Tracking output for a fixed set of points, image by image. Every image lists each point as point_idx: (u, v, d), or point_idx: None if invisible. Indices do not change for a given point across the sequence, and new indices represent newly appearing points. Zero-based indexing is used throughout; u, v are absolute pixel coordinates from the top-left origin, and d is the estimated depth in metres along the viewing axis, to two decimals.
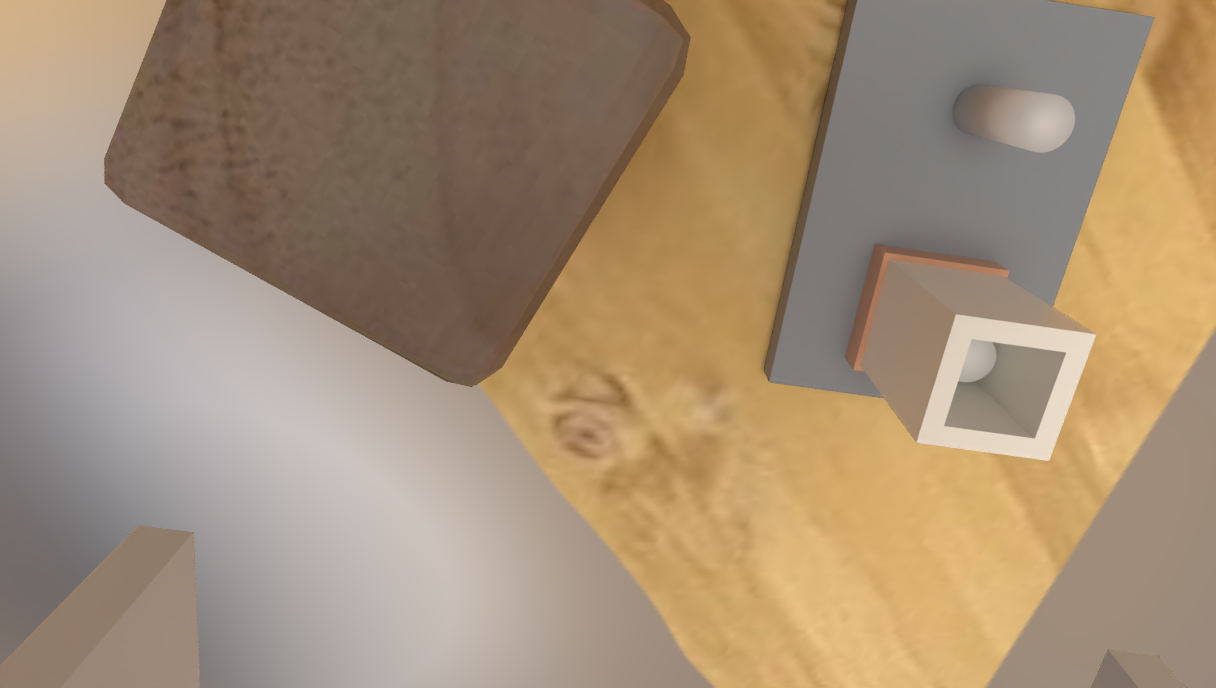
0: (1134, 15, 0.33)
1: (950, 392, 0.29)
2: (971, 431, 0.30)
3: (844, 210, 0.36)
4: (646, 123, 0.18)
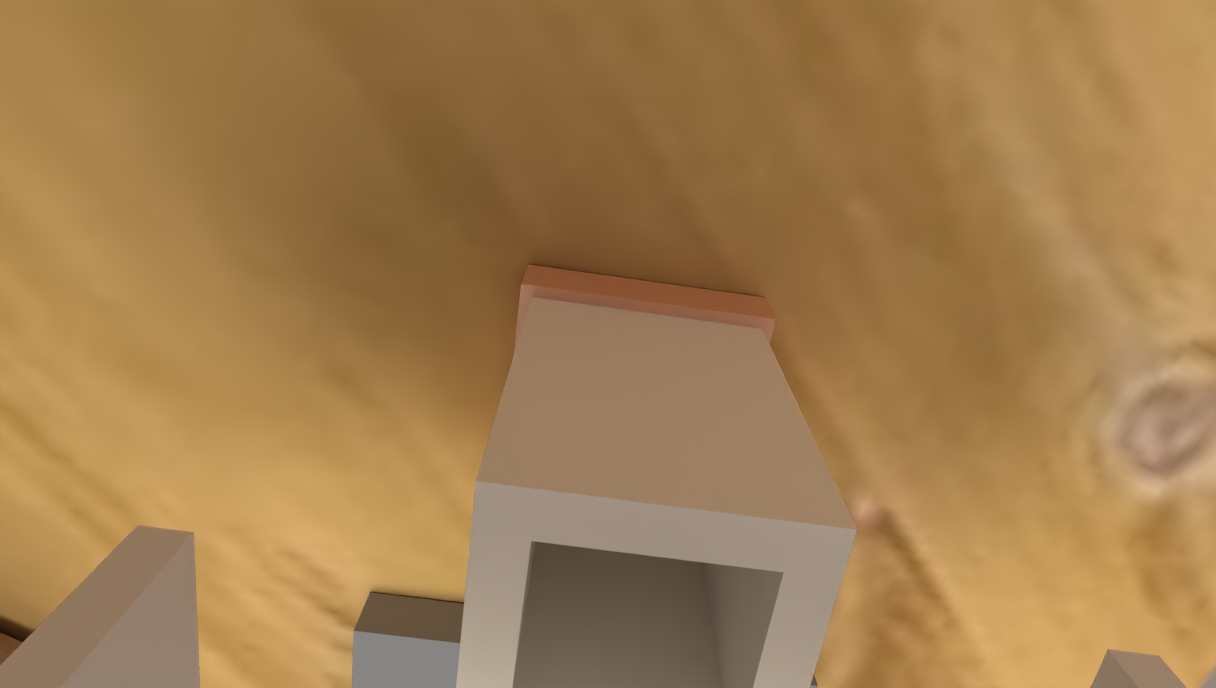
0: None
1: None
2: None
3: None
4: None
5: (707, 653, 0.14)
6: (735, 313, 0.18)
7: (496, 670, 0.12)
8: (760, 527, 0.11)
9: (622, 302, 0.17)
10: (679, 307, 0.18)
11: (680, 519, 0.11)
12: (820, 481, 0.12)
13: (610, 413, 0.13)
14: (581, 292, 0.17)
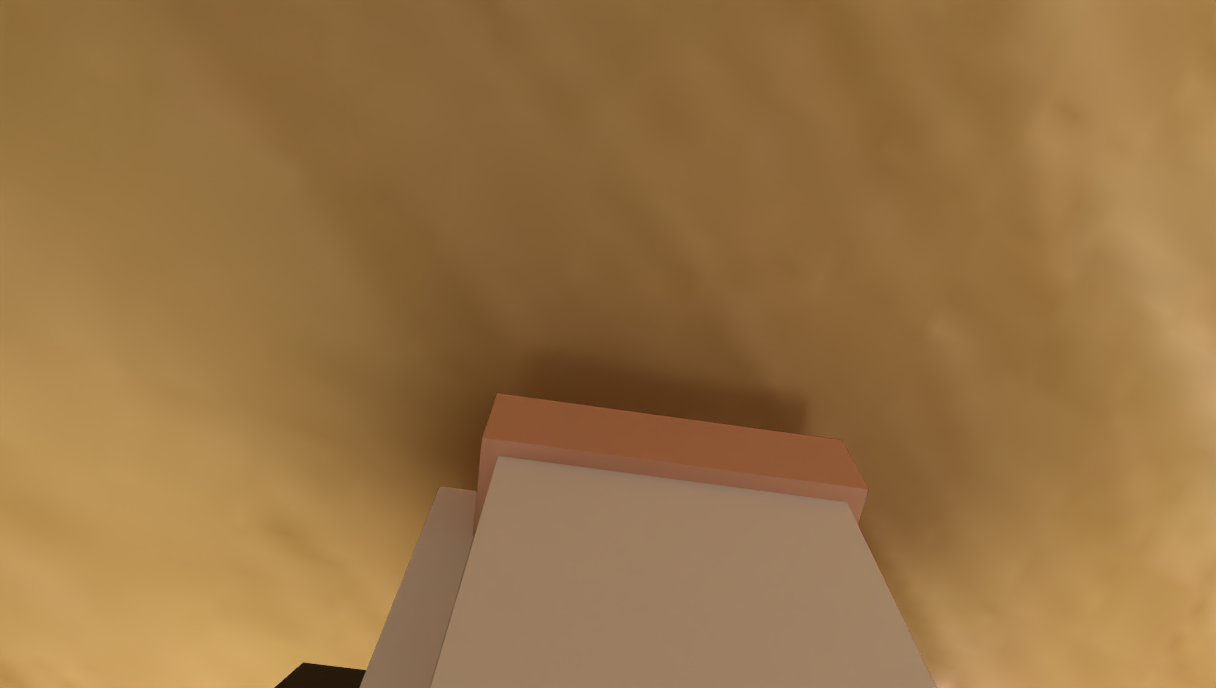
0: None
1: None
2: None
3: None
4: None
5: None
6: (807, 480, 0.12)
7: None
8: None
9: (635, 464, 0.12)
10: (722, 471, 0.12)
11: None
12: None
13: None
14: (573, 449, 0.12)
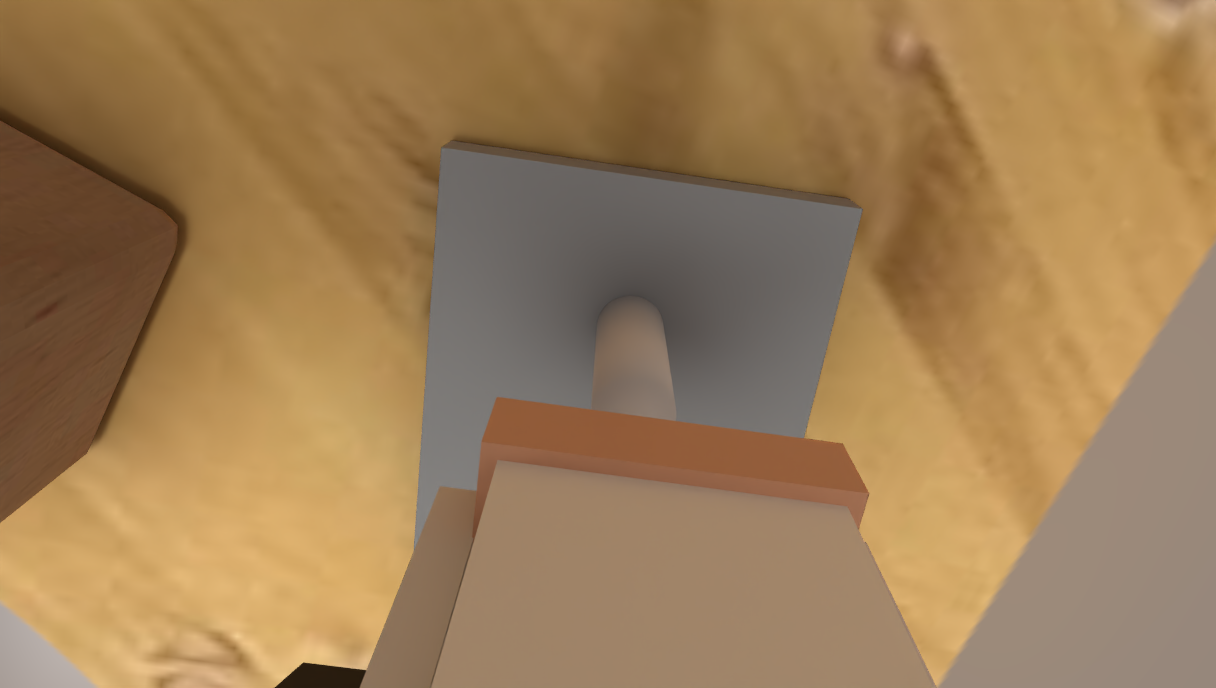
0: (834, 206, 0.23)
1: None
2: None
3: (469, 452, 0.26)
4: None
5: None
6: (807, 484, 0.12)
7: None
8: None
9: (635, 468, 0.11)
10: (722, 475, 0.12)
11: None
12: None
13: None
14: (573, 453, 0.12)
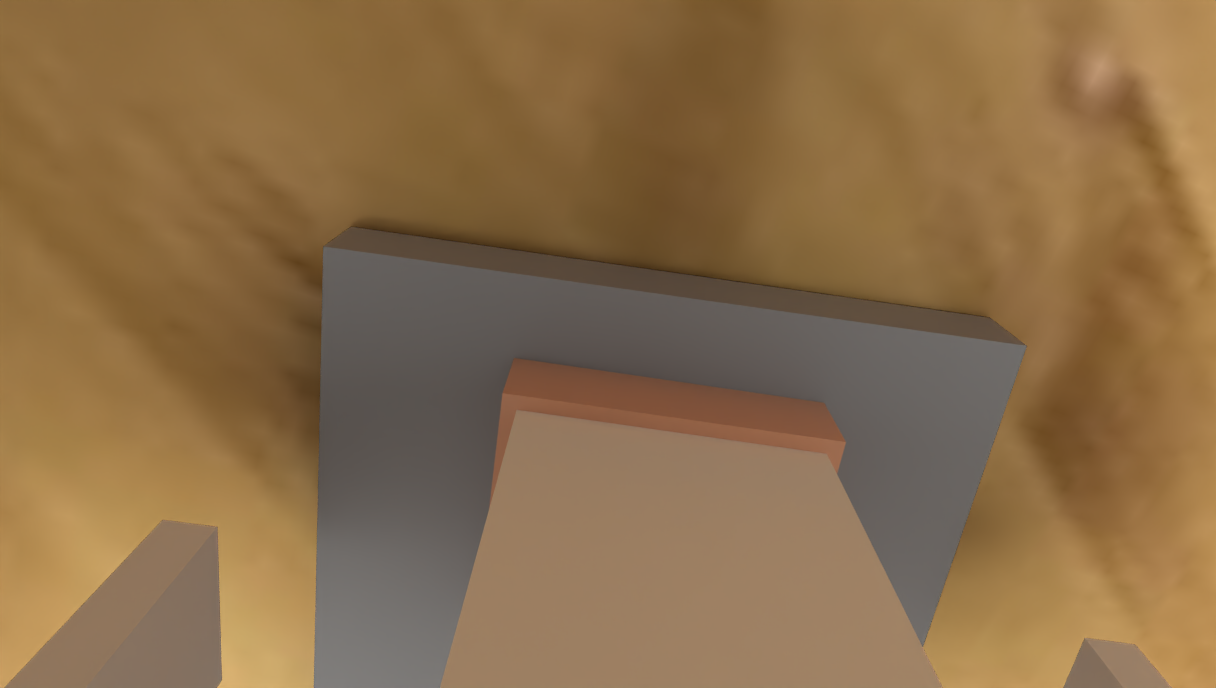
0: (979, 342, 0.14)
1: None
2: None
3: None
4: None
5: None
6: (791, 433, 0.13)
7: None
8: None
9: (639, 418, 0.13)
10: (716, 425, 0.13)
11: None
12: None
13: (627, 647, 0.08)
14: (584, 404, 0.13)
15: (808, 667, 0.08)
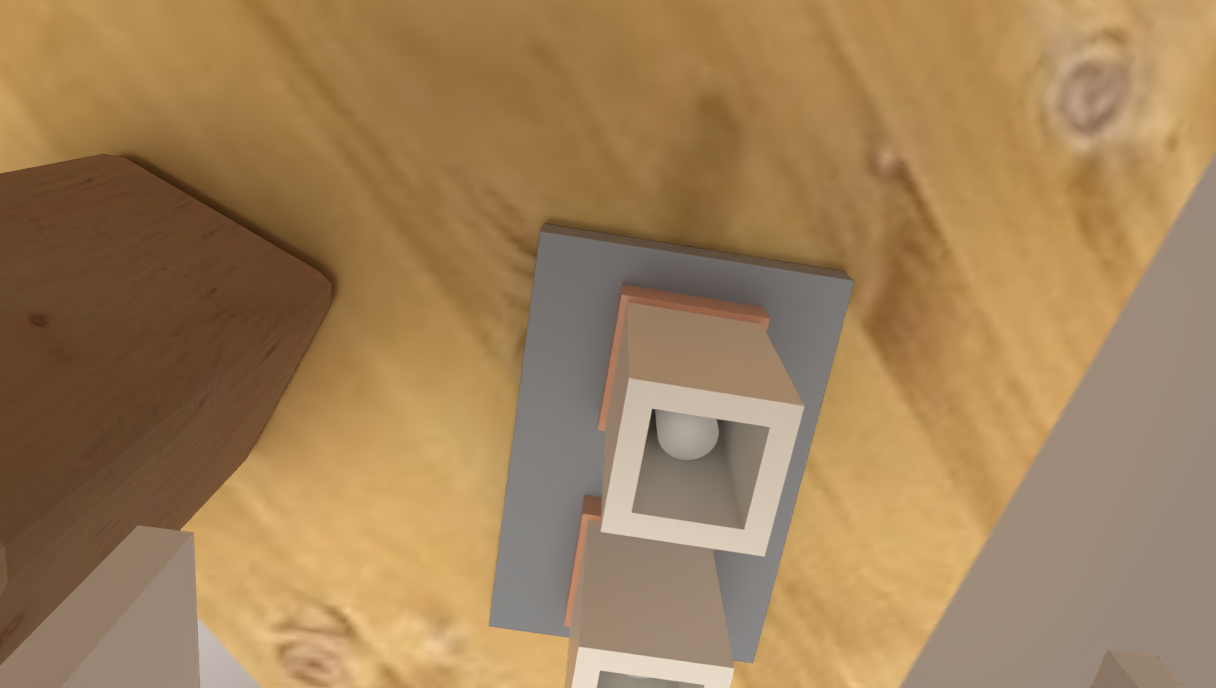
0: (832, 278, 0.31)
1: None
2: None
3: (548, 461, 0.34)
4: None
5: (729, 492, 0.26)
6: (746, 314, 0.30)
7: (629, 477, 0.24)
8: (759, 403, 0.23)
9: (680, 306, 0.30)
10: (713, 310, 0.30)
11: (723, 398, 0.23)
12: (789, 389, 0.24)
13: (683, 357, 0.25)
14: (656, 300, 0.30)
15: (743, 366, 0.25)
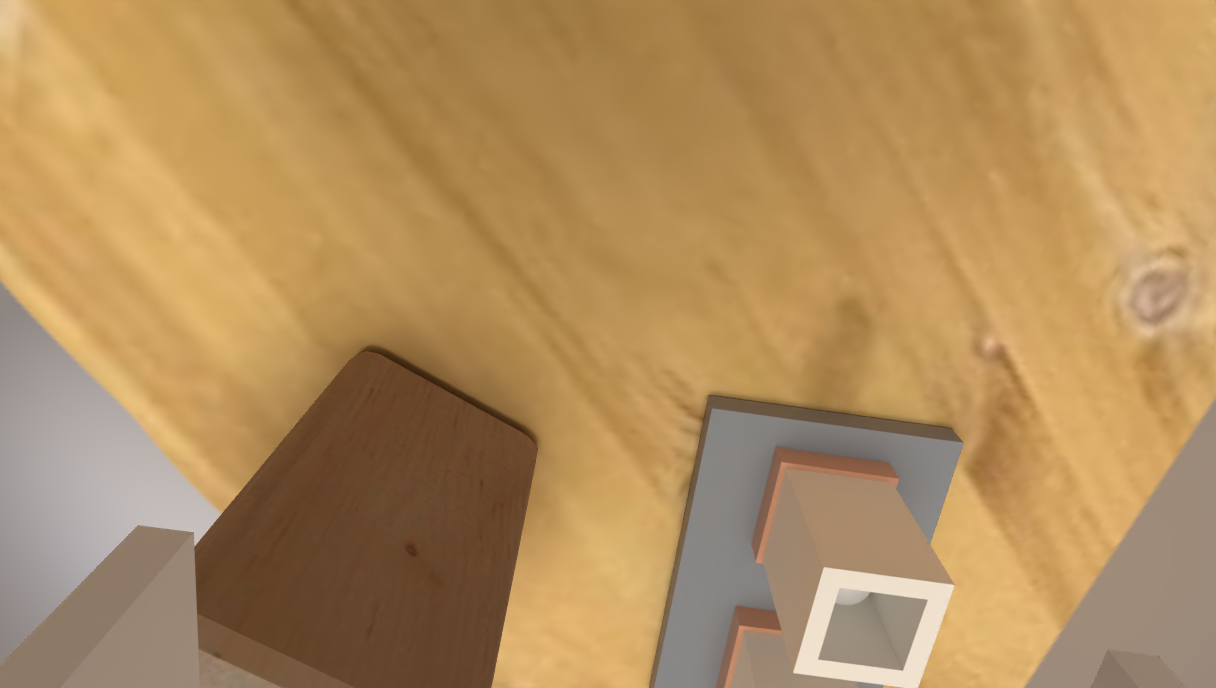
0: (946, 441, 0.39)
1: None
2: None
3: (707, 581, 0.42)
4: None
5: (882, 632, 0.34)
6: (880, 475, 0.38)
7: (818, 634, 0.32)
8: (921, 583, 0.31)
9: (828, 470, 0.38)
10: (854, 473, 0.38)
11: (893, 580, 0.31)
12: (938, 565, 0.32)
13: (851, 535, 0.33)
14: (808, 465, 0.38)
15: (897, 541, 0.33)
